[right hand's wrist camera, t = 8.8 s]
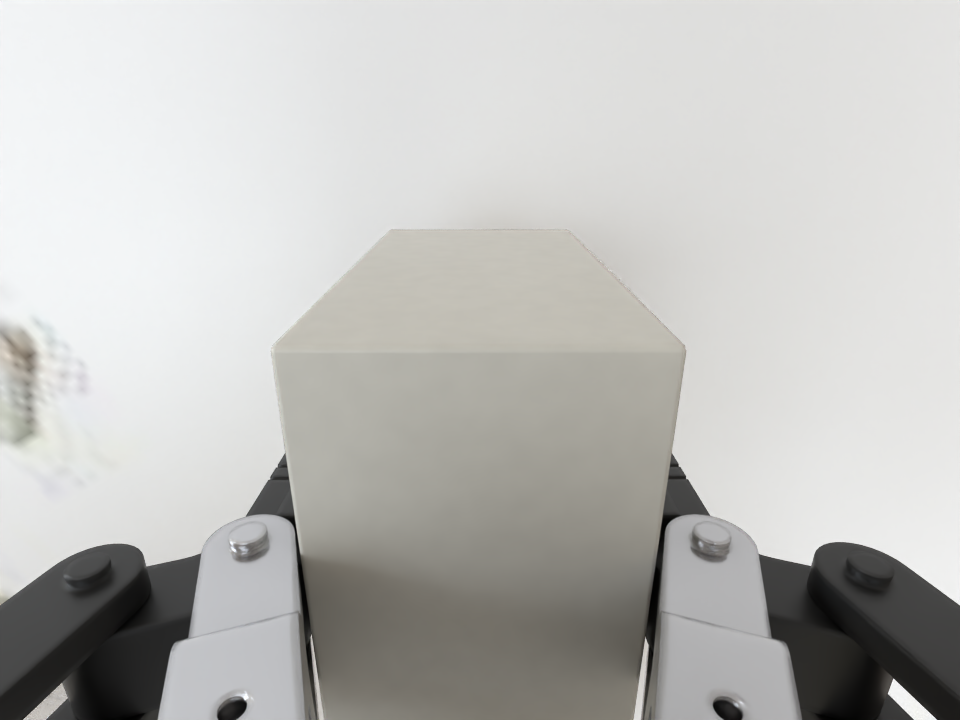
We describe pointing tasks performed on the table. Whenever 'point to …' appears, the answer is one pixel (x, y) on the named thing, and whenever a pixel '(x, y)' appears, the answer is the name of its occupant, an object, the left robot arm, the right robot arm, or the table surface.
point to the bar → (478, 477)
